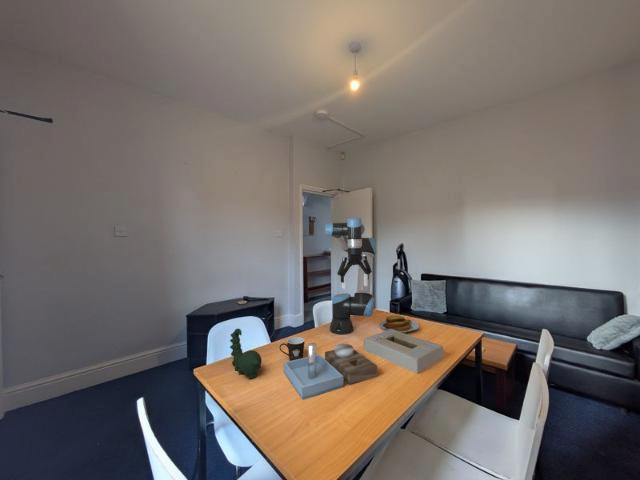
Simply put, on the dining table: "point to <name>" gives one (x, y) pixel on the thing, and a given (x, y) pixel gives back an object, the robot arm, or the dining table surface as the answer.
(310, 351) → the lock pin
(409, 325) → the food on plate
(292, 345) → the coffee mug
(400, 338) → the slotted block
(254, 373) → the toy figurine
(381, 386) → the dining table surface
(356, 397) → the dining table surface
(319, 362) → the tray
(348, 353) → the block
